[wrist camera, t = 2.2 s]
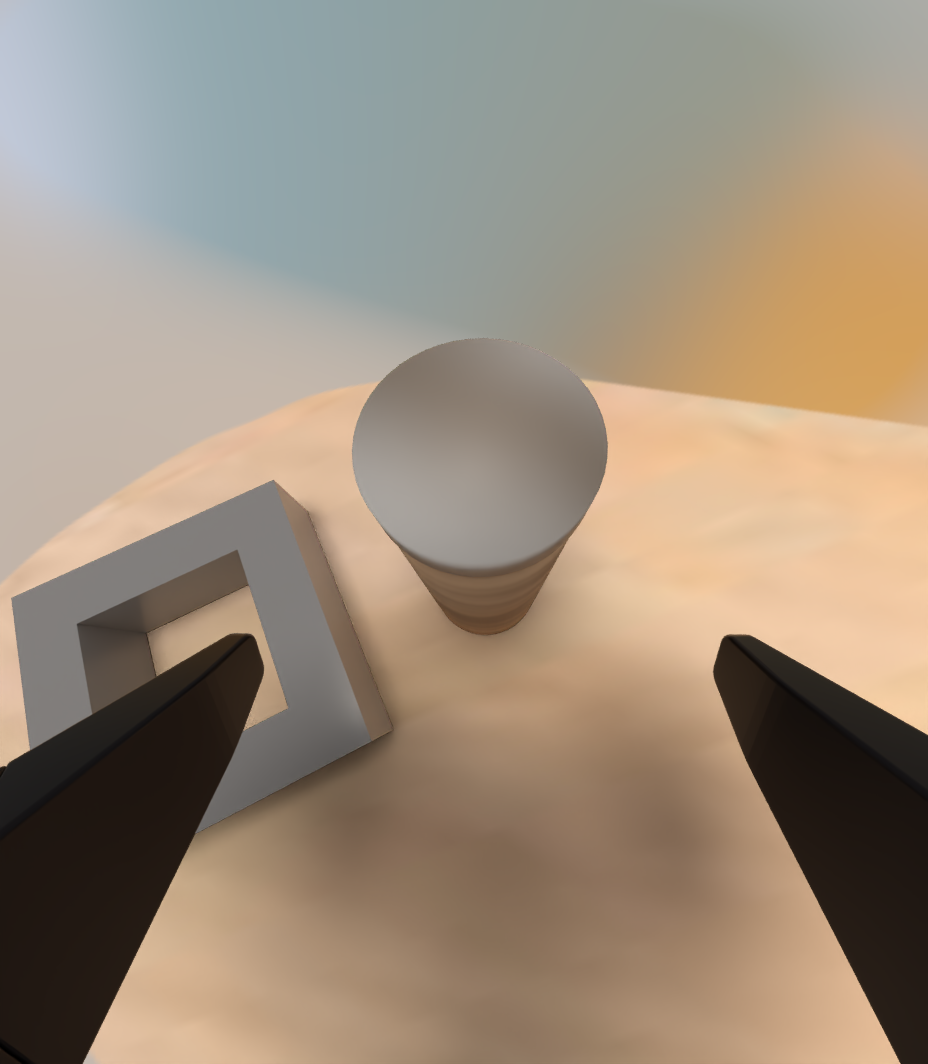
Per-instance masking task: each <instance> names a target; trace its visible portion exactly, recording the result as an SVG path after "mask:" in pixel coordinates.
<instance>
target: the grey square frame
mask: <svg viewBox="0 0 928 1064" xmlns="http://www.w3.org/2000/svg"><path fill="white" fill-rule="evenodd" d="M247 585H249V587H250V590H251V593H252V596H253V599H254V602H255V605H256V609H257V612H258V615H259V618H260V621H261V624H262V627H263V630H264V633H265V637H266V640H267V643H268V646H269V649H270V652H271V655H272V658H273V661H274V664H275V668H276V671H277V674H278V677H279V680H280V683H281V686H282V689H283V692H284V695H285V699H286V702H287V705H288V709H286V710H284V711H282V712H280V713H278V714H276V715H274V716H272V717H270V718H268V719H266V720H264V721H262V722H260V723H258V724H256V725H254V726H253V727H251V728H249V729H247V730H245V731H243V732H242V735H241V737H240V740H239V742H238V745H237V747H236V750H235V752H234V754H233V757H232V759H231V761H230V763H229V765H228V767H227V769H226V771H225V773H224V775H223V777H222V780H221V782H220V784H219V786H218V788H217V790H216V792H215V794H214V796H213V798H212V800H211V802H210V804H209V806H208V808H207V810H206V812H205V814H204V816H203V818H202V820H201V823H200V825H199V827H198V829H197V831H196V833H198V832H200V831H202V830H204V829H206V828H208V827H209V826H211V825H213V824H215V823H217V822H219V821H221V820H223V819H225V818H227V817H228V816H230V815H232V814H234V813H236V812H238V811H240V810H242V809H244V808H246V807H248V806H249V805H251V804H253V803H255V802H257V801H259V800H261V799H263V798H265V797H267V796H268V795H270V794H272V793H274V792H276V791H278V790H280V789H282V788H284V787H286V786H287V785H289V784H291V783H293V782H295V781H297V780H299V779H301V778H303V777H305V776H307V775H308V774H310V773H312V772H314V771H316V770H318V769H320V768H322V767H324V766H326V765H327V764H329V763H331V762H333V761H335V760H337V759H339V758H341V757H343V756H345V755H347V754H348V753H350V752H352V751H354V750H356V749H358V748H360V747H362V746H364V745H366V744H367V743H369V742H371V741H373V740H375V739H377V738H379V737H381V736H383V735H384V734H386V733H388V732H390V731H392V730H394V729H393V727H392V724H391V722H390V719H389V717H388V714H387V712H386V709H385V707H384V704H383V701H382V699H381V696H380V694H379V691H378V689H377V686H376V684H375V681H374V679H373V676H372V674H371V671H370V669H369V666H368V664H367V661H366V659H365V656H364V653H363V651H362V648H361V646H360V643H359V641H358V638H357V636H356V633H355V631H354V628H353V626H352V623H351V621H350V618H349V616H348V613H347V610H346V608H345V605H344V603H343V600H342V598H341V595H340V593H339V590H338V588H337V585H336V583H335V580H334V578H333V575H332V573H331V570H330V567H329V565H328V562H327V560H326V557H325V555H324V552H323V550H322V547H321V545H320V542H319V540H318V537H317V535H316V532H315V530H314V527H313V524H312V522H311V519H310V517H309V514H308V512H307V510H306V509H305V508H303V507H302V506H301V505H300V504H299V503H298V502H297V501H296V500H295V499H294V498H293V497H292V496H290V495H289V494H288V493H287V492H286V491H285V490H284V489H283V488H282V487H281V486H280V485H279V484H277V483H276V482H275V481H274V480H272V481H270V482H268V483H265V484H263V485H261V486H259V487H257V488H254V489H252V490H250V491H248V492H246V493H243V494H241V495H239V496H237V497H234V498H232V499H230V500H228V501H226V502H223V503H221V504H219V505H217V506H214V507H212V508H210V509H208V510H206V511H203V512H201V513H199V514H197V515H194V516H192V517H190V518H188V519H186V520H183V521H181V522H179V523H177V524H174V525H172V526H170V527H168V528H166V529H163V530H161V531H159V532H157V533H155V534H152V535H150V536H148V537H146V538H143V539H141V540H139V541H137V542H135V543H132V544H130V545H128V546H126V547H123V548H121V549H119V550H117V551H115V552H112V553H110V554H108V555H106V556H103V557H101V558H99V559H97V560H95V561H92V562H90V563H88V564H86V565H83V566H81V567H79V568H77V569H75V570H72V571H70V572H68V573H66V574H64V575H61V576H59V577H57V578H55V579H52V580H50V581H48V582H46V583H44V584H41V585H39V586H37V587H35V588H32V589H30V590H28V591H26V592H24V593H21V594H19V595H17V596H15V597H12V598H11V599H12V607H13V615H14V623H15V632H16V640H17V648H18V656H19V664H20V672H21V680H22V688H23V697H24V705H25V713H26V721H27V729H28V737H29V745H30V750H31V749H33V748H35V747H36V746H38V745H40V744H42V743H43V742H45V741H47V740H49V739H50V738H52V737H54V736H55V735H57V734H59V733H61V732H62V731H64V730H66V729H67V728H69V727H71V726H73V725H74V724H76V723H78V722H79V721H81V720H83V719H85V718H86V717H88V716H90V715H91V714H93V713H95V712H97V711H98V710H100V709H102V708H104V707H105V706H107V705H109V704H110V703H112V702H114V701H116V700H117V699H119V698H121V697H122V696H124V695H126V694H128V693H129V692H131V691H133V690H134V689H136V688H138V687H140V686H141V685H143V684H145V683H146V682H148V681H150V680H152V679H153V678H155V677H156V676H155V671H154V667H153V662H152V658H151V654H150V649H149V645H148V640H147V636H146V633H147V632H149V631H151V630H153V629H156V628H158V627H160V626H162V625H164V624H166V623H168V622H170V621H173V620H175V619H177V618H179V617H181V616H183V615H185V614H187V613H189V612H192V611H194V610H196V609H198V608H200V607H202V606H204V605H206V604H208V603H211V602H213V601H215V600H217V599H219V598H221V597H223V596H225V595H228V594H230V593H232V592H234V591H236V590H238V589H240V588H242V587H244V586H247ZM196 833H195V834H196Z"/></svg>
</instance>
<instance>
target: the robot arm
mask: <svg viewBox="0 0 928 1064" xmlns="http://www.w3.org/2000/svg"><path fill="white" fill-rule="evenodd" d="M263 674H264V665H263V661H262V658H261V655H260V652H259V649H258V645H257V642H256V639H255V637H254V636H253V635H251V634H239V633H234V634H229V635H227V636H225V637H224V638H222V639H220V640H219V641H217V642H215V643H213V644H212V645H210V646H208V647H207V648H205V649H203V650H201V651H200V652H198V653H196V654H195V655H193V656H191V657H189V658H188V659H186V660H184V661H183V662H181V663H179V664H177V665H176V666H174V667H172V668H171V669H169V670H167V671H165V672H164V673H162V674H160V675H158V676H157V677H155V678H153V679H152V680H150V681H148V682H146V683H145V684H143V685H141V686H140V687H138V688H136V689H134V690H133V691H131V692H129V693H128V694H126V695H124V696H122V697H121V698H119V699H117V700H116V701H114V702H112V703H110V704H109V705H107V706H105V707H104V708H102V709H100V710H98V711H97V712H95V713H93V714H91V715H90V716H88V717H86V718H85V719H83V720H81V721H79V722H78V723H76V724H74V725H73V726H71V727H69V728H67V729H66V730H64V731H62V732H61V733H59V734H57V735H55V736H54V737H52V738H50V739H49V740H47V741H45V742H43V743H42V744H40V745H38V746H36V747H35V748H33V749H31V750H30V751H28V752H26V753H24V754H23V755H21V756H19V757H18V758H16V759H14V760H12V761H11V762H9V763H8V765H7V767H6V766H2V767H0V1064H83V1062H84V1060H85V1058H86V1056H87V1054H88V1052H89V1050H90V1048H91V1046H92V1044H93V1042H94V1040H95V1038H96V1036H97V1034H98V1031H99V1029H100V1027H101V1025H102V1023H103V1021H104V1019H105V1017H106V1015H107V1013H108V1011H109V1009H110V1007H111V1005H112V1003H113V1001H114V999H115V997H116V995H117V993H118V991H119V988H120V986H121V984H122V982H123V980H124V978H125V976H126V974H127V972H128V970H129V968H130V966H131V964H132V962H133V960H134V958H135V956H136V954H137V952H138V950H139V947H140V945H141V943H142V941H143V939H144V937H145V935H146V933H147V931H148V929H149V927H150V925H151V923H152V921H153V919H154V917H155V915H156V913H157V911H158V909H159V907H160V904H161V902H162V900H163V898H164V896H165V894H166V892H167V890H168V888H169V886H170V884H171V882H172V880H173V878H174V876H175V874H176V872H177V870H178V868H179V866H180V863H181V861H182V859H183V857H184V855H185V853H186V851H187V849H188V847H189V845H190V843H191V841H192V839H193V837H194V835H195V833H196V831H197V829H198V827H199V825H200V823H201V820H202V818H203V816H204V814H205V812H206V810H207V808H208V806H209V804H210V802H211V800H212V798H213V796H214V794H215V792H216V790H217V788H218V786H219V784H220V782H221V780H222V777H223V775H224V773H225V771H226V769H227V767H228V765H229V763H230V761H231V759H232V757H233V754H234V752H235V750H236V747H237V745H238V742H239V740H240V737H241V735H242V732H243V729H244V727H245V724H246V721H247V719H248V716H249V713H250V710H251V708H252V705H253V702H254V700H255V697H256V694H257V692H258V689H259V686H260V684H261V681H262V678H263ZM713 674H714V680H715V683H716V685H717V688H718V690H719V693H720V696H721V698H722V701H723V703H724V706H725V708H726V711H727V714H728V716H729V719H730V721H731V724H732V726H733V729H734V732H735V734H736V737H737V739H738V742H739V744H740V747H741V749H742V752H743V754H744V756H745V759H746V761H747V763H748V765H749V767H750V769H751V771H752V773H753V775H754V777H755V779H756V781H757V783H758V785H759V787H760V789H761V791H762V793H763V795H764V797H765V799H766V801H767V803H768V805H769V807H770V809H771V811H772V813H773V815H774V817H775V819H776V821H777V823H778V824H779V826H780V828H781V830H782V832H783V834H784V836H785V838H786V840H787V842H788V844H789V846H790V848H791V850H792V852H793V854H794V856H795V858H796V860H797V862H798V864H799V866H800V868H801V870H802V871H803V873H804V875H805V877H806V879H807V881H808V883H809V885H810V887H811V889H812V891H813V893H814V895H815V897H816V899H817V901H818V903H819V905H820V907H821V909H822V911H823V913H824V915H825V917H826V919H827V920H828V922H829V924H830V926H831V928H832V930H833V932H834V934H835V936H836V938H837V940H838V942H839V944H840V946H841V948H842V950H843V952H844V954H845V956H846V958H847V960H848V962H849V964H850V966H851V967H852V969H853V971H854V973H855V975H856V977H857V979H858V981H859V983H860V985H861V987H862V989H863V991H864V993H865V995H866V997H867V999H868V1001H869V1003H870V1005H871V1007H872V1009H873V1011H874V1013H875V1015H876V1016H877V1018H878V1020H879V1022H880V1024H881V1026H882V1028H883V1030H884V1032H885V1034H886V1036H887V1038H888V1040H889V1042H890V1044H891V1046H892V1048H893V1050H894V1052H895V1054H896V1056H897V1058H898V1060H899V1062H900V1063H901V1064H928V735H927V734H925V733H923V732H922V731H920V730H918V729H916V728H914V727H913V726H911V725H909V724H907V723H906V722H904V721H902V720H900V719H898V718H897V717H895V716H893V715H891V714H890V713H888V712H886V711H884V710H882V709H881V708H879V707H877V706H875V705H874V704H872V703H870V702H868V701H866V700H865V699H863V698H861V697H859V696H858V695H856V694H854V693H852V692H850V691H849V690H847V689H845V688H843V687H842V686H840V685H838V684H836V683H834V682H833V681H831V680H829V679H827V678H826V677H824V676H822V675H820V674H818V673H817V672H815V671H813V670H811V669H810V668H808V667H806V666H804V665H802V664H801V663H799V662H797V661H795V660H794V659H792V658H790V657H788V656H786V655H785V654H783V653H781V652H779V651H778V650H776V649H774V648H772V647H770V646H769V645H767V644H765V643H763V642H762V641H760V640H758V639H756V638H754V637H753V636H750V635H733V634H729V635H726V636H724V638H723V639H722V641H721V644H720V647H719V651H718V654H717V658H716V661H715V664H714V669H713Z"/></svg>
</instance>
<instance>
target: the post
mask: <svg viewBox="0 0 928 1064" xmlns="http://www.w3.org/2000/svg"><path fill="white" fill-rule="evenodd" d="M607 448H608V443H607V435H606V428H605V424H604V421H603V417H602V414H601V412H600V409H599V407H598V405H597V403H596V401H595V399H594V397H593V396H592V394H591V393H590V391H589V389H588V388H587V387H586V386H585V384H584V383H583V382H582V381H581V380H580V378H579V377H578V376H577V375H575V374H574V373H573V372H572V371H571V370H570V369H569V368H568V367H567V366H565V365H564V364H562V363H561V362H560V361H558V360H557V359H555V358H553V357H552V356H550V355H548V354H546V353H544V352H542V351H540V350H538V349H535V348H533V347H530V346H527V345H524V344H520V343H517V342H513V341H507V340H501V339H487V338H480V339H465V340H459V341H453V342H449V343H445V344H441V345H438V346H435V347H432V348H430V349H427V350H425V351H423V352H421V353H419V354H417V355H415V356H413V357H411V358H409V359H408V360H406V361H405V362H403V363H402V364H400V365H399V366H398V367H396V368H395V369H394V370H393V371H391V372H390V373H389V374H388V375H387V376H386V377H385V378H384V379H383V380H382V381H381V382H380V383H379V384H378V386H377V387H376V388H375V390H374V391H373V392H372V394H371V395H370V396H369V398H368V400H367V402H366V403H365V405H364V407H363V409H362V411H361V413H360V416H359V418H358V421H357V424H356V428H355V432H354V436H353V447H352V459H353V469H354V474H355V479H356V482H357V485H358V488H359V490H360V493H361V495H362V497H363V499H364V501H365V503H366V505H367V506H368V508H369V510H370V511H371V512H372V514H373V515H374V517H375V518H376V519H377V521H378V522H379V524H380V525H381V526H382V528H383V529H384V531H385V532H386V533H387V535H388V536H389V537H390V539H391V540H392V541H393V542H394V543H395V544H396V545H397V546H398V547H399V548H400V549H401V551H402V552H403V554H404V555H405V557H406V558H407V560H408V561H409V563H410V564H411V565H412V567H413V568H414V570H415V571H416V573H417V574H418V576H419V577H420V579H421V580H422V581H423V583H424V584H425V586H426V587H427V589H428V590H429V592H430V593H431V594H432V596H433V597H434V599H435V600H436V602H437V603H438V605H439V606H440V608H441V609H442V610H443V612H444V613H445V615H446V616H447V617H448V618H449V619H450V620H451V621H452V622H453V623H454V624H455V625H457V626H458V627H460V628H461V629H463V630H465V631H468V632H471V633H475V634H481V635H490V634H497V633H500V632H503V631H506V630H508V629H510V628H511V627H513V626H514V625H516V624H517V623H518V622H519V621H520V620H521V619H522V618H523V617H524V616H525V614H526V613H527V612H528V610H529V608H530V606H531V605H532V603H533V601H534V599H535V597H536V596H537V594H538V592H539V590H540V588H541V587H542V585H543V583H544V581H545V580H546V578H547V576H548V574H549V572H550V571H551V569H552V567H553V565H554V563H555V562H556V560H557V558H558V556H559V555H560V553H561V551H562V549H563V547H564V546H565V544H566V542H567V540H568V538H569V537H570V536H571V535H572V534H573V532H574V531H575V530H576V528H577V527H578V525H579V524H580V523H581V521H582V519H583V517H584V516H585V514H586V512H587V510H588V509H589V507H590V505H591V504H592V502H593V500H594V498H595V496H596V494H597V492H598V490H599V488H600V485H601V482H602V479H603V477H604V473H605V468H606V463H607Z"/></svg>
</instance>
